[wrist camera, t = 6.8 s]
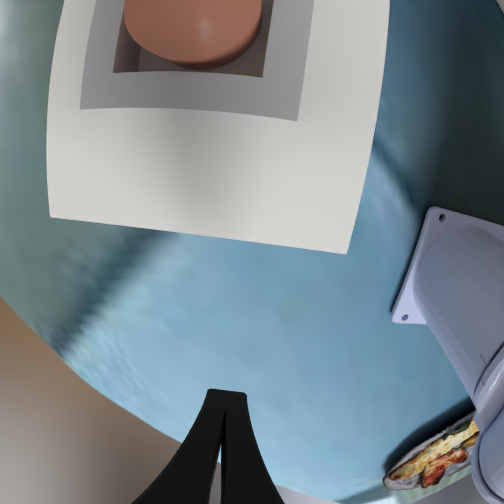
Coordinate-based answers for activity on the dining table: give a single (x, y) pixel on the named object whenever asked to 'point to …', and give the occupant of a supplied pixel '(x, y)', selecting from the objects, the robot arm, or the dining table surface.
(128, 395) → the dining table surface
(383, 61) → the button panel
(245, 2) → the button
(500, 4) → the laptop
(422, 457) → the food plate
